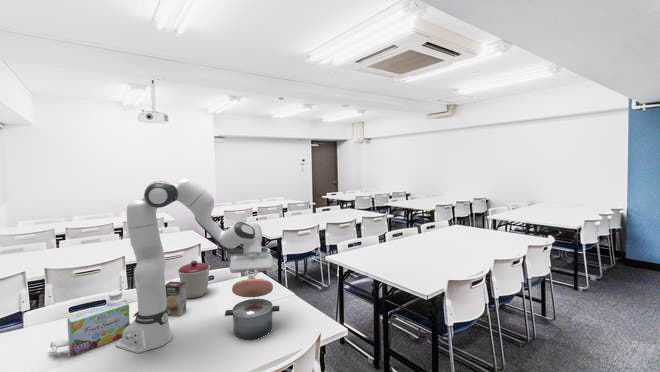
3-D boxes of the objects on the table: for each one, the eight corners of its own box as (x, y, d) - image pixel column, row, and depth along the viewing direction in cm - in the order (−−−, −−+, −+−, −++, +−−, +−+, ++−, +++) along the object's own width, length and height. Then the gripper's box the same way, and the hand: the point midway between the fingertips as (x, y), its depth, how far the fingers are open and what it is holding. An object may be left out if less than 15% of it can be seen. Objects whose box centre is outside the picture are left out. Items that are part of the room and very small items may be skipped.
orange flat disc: (229, 283, 139) (230, 277, 141) (234, 298, 154) (235, 292, 156) (272, 280, 142) (272, 274, 144) (273, 295, 157) (273, 289, 159)
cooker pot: (222, 343, 135) (222, 319, 135) (229, 321, 154) (228, 300, 154) (280, 337, 140) (279, 313, 139) (279, 316, 158) (279, 296, 158)
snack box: (72, 357, 127) (70, 322, 125) (69, 352, 130) (66, 317, 129) (130, 334, 143) (129, 303, 142) (126, 330, 147) (124, 300, 146)
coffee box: (163, 315, 161) (162, 285, 160) (171, 310, 168) (169, 281, 166) (180, 316, 160) (179, 286, 159) (187, 310, 167) (186, 281, 166)
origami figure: (84, 345, 134) (83, 334, 133) (68, 358, 126) (67, 347, 125) (57, 347, 134) (55, 336, 133) (39, 359, 126) (37, 348, 125)
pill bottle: (104, 323, 154) (102, 294, 153) (121, 316, 161) (120, 288, 160) (113, 327, 150) (111, 297, 149) (130, 320, 157) (128, 291, 156)
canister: (184, 304, 174) (182, 267, 173) (174, 294, 188) (173, 260, 186) (215, 294, 187) (214, 260, 185) (204, 286, 200) (203, 254, 199)
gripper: (229, 251, 148) (227, 278, 139) (273, 248, 151) (273, 275, 142) (231, 257, 152) (229, 284, 143) (273, 255, 156) (273, 281, 147)
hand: (251, 279), depth 143 cm, fingers closed
